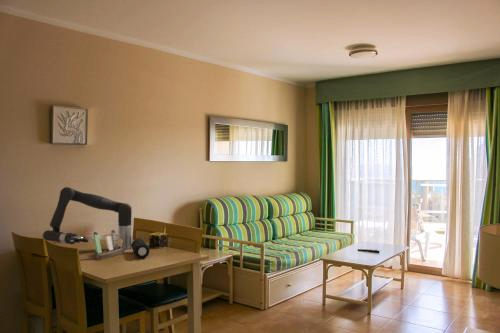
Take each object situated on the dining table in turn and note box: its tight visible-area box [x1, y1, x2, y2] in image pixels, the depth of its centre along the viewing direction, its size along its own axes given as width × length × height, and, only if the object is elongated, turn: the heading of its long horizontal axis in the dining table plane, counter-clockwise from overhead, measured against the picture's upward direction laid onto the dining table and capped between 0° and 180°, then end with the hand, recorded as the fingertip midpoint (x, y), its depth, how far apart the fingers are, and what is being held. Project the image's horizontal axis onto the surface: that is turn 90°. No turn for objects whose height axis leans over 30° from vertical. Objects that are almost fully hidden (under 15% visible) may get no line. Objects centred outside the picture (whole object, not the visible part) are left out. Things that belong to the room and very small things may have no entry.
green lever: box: [92, 231, 103, 254], centre depth 283 cm, size 3×4×15 cm
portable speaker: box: [131, 237, 151, 259], centre depth 294 cm, size 26×10×10 cm, turn 22°
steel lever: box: [110, 229, 118, 249], centre depth 299 cm, size 2×3×13 cm
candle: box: [148, 232, 168, 248], centre depth 325 cm, size 10×10×10 cm
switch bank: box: [90, 246, 125, 261], centre depth 290 cm, size 9×23×5 cm, turn 157°
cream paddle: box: [104, 234, 114, 251], centre depth 293 cm, size 1×4×10 cm, turn 157°
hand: (87, 240), depth 286 cm, fingers closed
